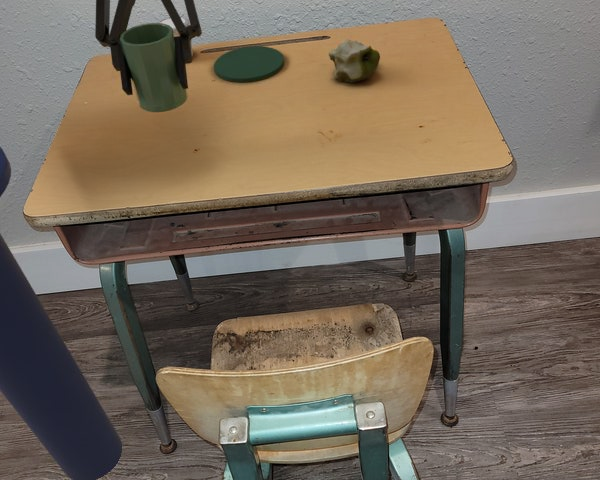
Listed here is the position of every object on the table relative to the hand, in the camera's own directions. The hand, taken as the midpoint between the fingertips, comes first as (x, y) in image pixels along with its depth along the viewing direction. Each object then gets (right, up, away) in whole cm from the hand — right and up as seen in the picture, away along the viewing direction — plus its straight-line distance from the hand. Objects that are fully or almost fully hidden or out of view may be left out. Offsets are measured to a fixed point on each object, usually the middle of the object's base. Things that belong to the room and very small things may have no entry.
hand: (155, 88), depth 86 cm
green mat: (+11, +16, +33) cm, 38 cm away
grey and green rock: (+31, +12, +27) cm, 42 cm away
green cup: (0, 0, +5) cm, 5 cm away
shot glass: (-4, +20, +39) cm, 44 cm away
